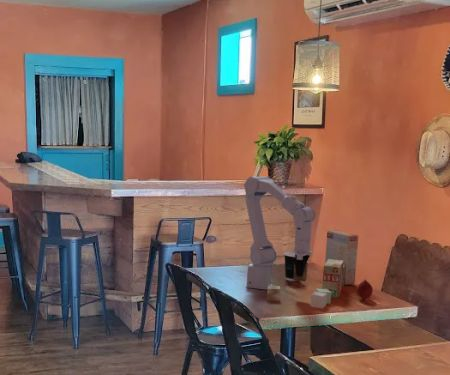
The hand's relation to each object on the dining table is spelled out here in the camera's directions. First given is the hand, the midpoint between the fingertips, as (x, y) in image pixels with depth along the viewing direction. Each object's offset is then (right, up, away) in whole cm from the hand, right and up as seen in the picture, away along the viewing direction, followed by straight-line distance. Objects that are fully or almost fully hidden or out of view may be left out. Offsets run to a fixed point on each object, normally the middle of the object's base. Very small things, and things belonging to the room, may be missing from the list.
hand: (300, 274), depth 231 cm
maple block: (-10, -9, -2) cm, 14 cm away
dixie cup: (0, -6, +28) cm, 29 cm away
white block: (+6, -10, -8) cm, 14 cm away
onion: (+25, -10, +3) cm, 27 cm away
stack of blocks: (+15, -9, +15) cm, 23 cm away
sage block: (+8, -10, -3) cm, 13 cm away
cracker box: (+20, -7, +30) cm, 36 cm away
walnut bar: (0, -2, 0) cm, 2 cm away
